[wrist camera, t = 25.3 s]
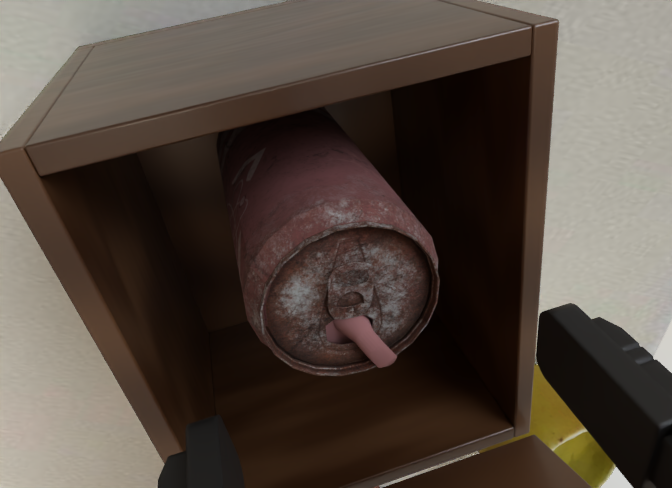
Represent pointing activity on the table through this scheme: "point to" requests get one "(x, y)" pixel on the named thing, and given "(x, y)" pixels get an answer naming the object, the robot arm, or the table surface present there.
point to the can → (324, 246)
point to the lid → (502, 470)
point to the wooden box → (217, 242)
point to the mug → (564, 434)
